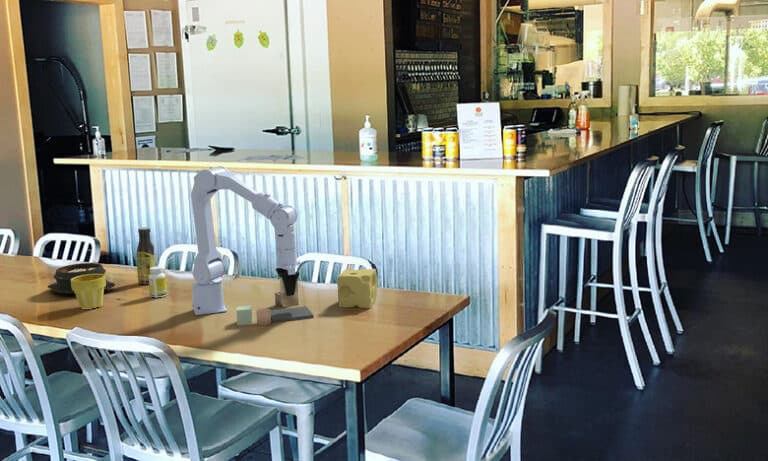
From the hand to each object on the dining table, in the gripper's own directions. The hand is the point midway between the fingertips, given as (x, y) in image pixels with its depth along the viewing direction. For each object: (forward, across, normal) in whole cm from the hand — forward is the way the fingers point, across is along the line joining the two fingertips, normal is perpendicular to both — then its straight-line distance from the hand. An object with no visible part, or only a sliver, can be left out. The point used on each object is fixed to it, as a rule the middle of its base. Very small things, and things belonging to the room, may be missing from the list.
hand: (288, 293), depth 232 cm
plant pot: (+7, +37, +57) cm, 68 cm away
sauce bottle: (+7, +62, +39) cm, 74 cm away
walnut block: (+7, +12, 0) cm, 14 cm away
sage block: (+7, -2, +14) cm, 15 cm away
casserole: (+7, +61, +61) cm, 87 cm away
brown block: (+7, -5, +8) cm, 12 cm away
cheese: (+7, +4, -22) cm, 23 cm away
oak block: (+3, 0, 0) cm, 3 cm away
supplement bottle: (+7, +41, +36) cm, 55 cm away
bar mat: (+7, 0, 0) cm, 7 cm away
